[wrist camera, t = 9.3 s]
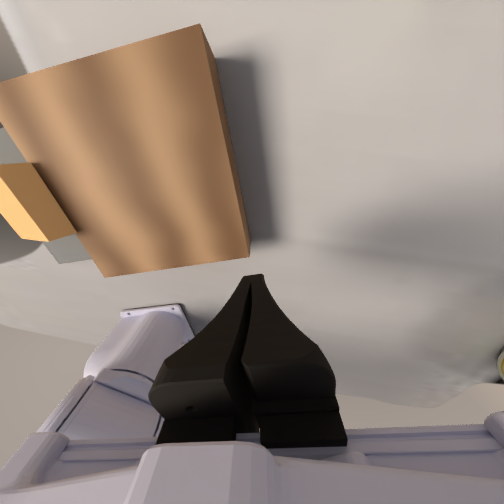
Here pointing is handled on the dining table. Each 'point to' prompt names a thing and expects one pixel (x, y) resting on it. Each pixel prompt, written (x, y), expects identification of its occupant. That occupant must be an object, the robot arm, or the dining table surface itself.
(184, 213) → the panel
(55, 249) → the mat
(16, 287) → the dining table surface
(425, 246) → the dining table surface
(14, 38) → the dining table surface
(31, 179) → the block
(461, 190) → the dining table surface
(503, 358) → the air freshener
